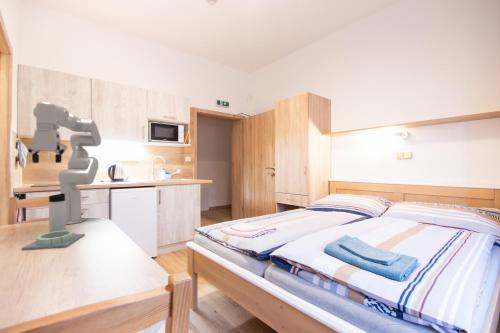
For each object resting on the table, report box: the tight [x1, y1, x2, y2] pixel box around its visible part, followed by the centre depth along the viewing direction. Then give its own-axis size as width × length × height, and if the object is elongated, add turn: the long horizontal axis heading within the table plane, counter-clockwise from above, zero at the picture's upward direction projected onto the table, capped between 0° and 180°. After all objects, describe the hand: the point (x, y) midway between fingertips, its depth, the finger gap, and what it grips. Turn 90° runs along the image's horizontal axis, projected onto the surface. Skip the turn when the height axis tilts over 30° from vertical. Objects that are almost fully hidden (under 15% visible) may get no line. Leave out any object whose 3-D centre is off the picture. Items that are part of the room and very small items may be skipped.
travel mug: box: [48, 193, 67, 233], centre depth 117 cm, size 6×7×20 cm
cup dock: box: [21, 229, 86, 251], centre depth 106 cm, size 16×16×4 cm
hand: (47, 162), depth 116 cm, fingers open, 9 cm apart
